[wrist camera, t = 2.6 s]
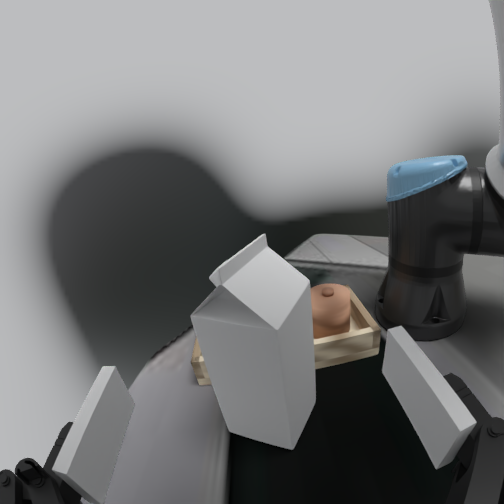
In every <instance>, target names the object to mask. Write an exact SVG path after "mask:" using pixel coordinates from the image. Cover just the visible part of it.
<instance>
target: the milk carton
mask: <svg viewBox="0 0 504 504" xmlns="http://www.w3.org/2000/svg"><path fill="white" fill-rule="evenodd" d="M209 279H210V280H211V281H212V282H213V283H214V284H215V286H216V287H217V288H216V289H215V290H214V291H213V292H212V293H211V294H210V295H209V296H208V297H207V298H206V299H205V300H204V301H203V302H202V304H201V305H200V306H199V307H198V308H197V309H196V310H195V311H194V312H193V313H192V314H191V320H192V324H193V327H194V330H195V334H196V337H197V340H198V343H199V347H200V350H201V353H202V356H203V359H204V362H205V365H206V368H207V371H208V374H209V377H210V380H211V383H212V386H213V389H214V392H215V395H216V397H217V400H218V403H219V406H220V409H221V411H222V414H223V417H224V419H225V422H226V425H227V427H228V430H229V432H232V433H235V434H238V435H241V436H244V437H247V438H250V439H254V440H257V441H260V442H264V443H267V444H271V445H275V446H279V447H282V448H286V449H291V450H293V449H294V447H295V445H296V443H297V441H298V439H299V437H300V435H301V433H302V431H303V429H304V427H305V424H306V422H307V420H308V418H309V416H310V414H311V411H312V409H313V407H314V405H315V402H316V384H315V357H314V337H313V320H312V305H311V291H310V280H309V279H307V278H306V277H305V276H304V275H302V274H301V273H300V272H299V271H297V270H296V269H295V268H294V267H293V266H291V265H290V264H289V263H288V262H286V261H285V260H284V259H283V258H281V257H280V256H279V255H278V254H276V253H275V252H274V251H273V250H271V249H270V248H269V247H268V246H267V241H266V234H262V235H261V236H260V237H258V238H257V239H256V240H254V241H253V242H252V243H250V244H249V245H248V246H246V247H245V248H244V249H242V250H241V251H239V252H238V253H237V254H235V255H234V256H233V257H231V258H230V259H229V260H227V261H225V262H224V263H223V264H222V265H221V266H219V267H218V268H217V269H216V270H215V271H214V272H213V273H212V275H211V276H210V277H209Z"/></svg>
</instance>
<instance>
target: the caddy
mask: <svg viewBox="0 0 504 504" xmlns="http://www.w3.org/2000/svg"><path fill="white" fill-rule="evenodd" d="M310 291H311V305H312V320H313V337H314V357H315V369H319V368H324V367H328V366H333V365H337V364H342V363H346V362H350V361H354V360H358V359H362V358H366V357H370V356H373V355H377V354H378V352H379V343H380V333H381V329H380V328H379V326H378V325H377V323H376V322H375V321H374V319H373V318H372V317H371V315H370V314H369V312H368V311H367V310H366V308H365V307H364V306H363V304H362V303H361V302H360V300H359V299H358V298H357V296H356V295H355V294H354V292H353V291H352V290H351V289H350V287H349V286H348V285H343V286H342V285H339V284H322V285H318V286H315V287H312V288H311V289H310ZM191 364H192V367H193V369H194V372H195V375H196V377H197V380H198V383H199V385H200V386H201V385H212V383H211V380H210V377H209V374H208V371H207V368H206V365H205V362H204V359H203V356H202V353H201V350H200V347H199V343H198V340H197V337H196V340H195V345H194V350H193V355H192V360H191Z"/></svg>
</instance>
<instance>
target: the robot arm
mask: <svg viewBox="0 0 504 504" xmlns="http://www.w3.org/2000/svg"><path fill="white" fill-rule="evenodd" d="M489 2H490V7H491V12H492V17H493V22H494V28H495V35H496V42H497V50H498V59H499V71H500V96H501V97H500V101H501V103H500V105H501V106H500V134H499V144H498V145H496V146H494V147H493V148H492V149H491V150H490V152H489V153H488V155H487V159H486V165H485V168H483V167H482V168H481V167H467V162H466V159H465V157H464V156H460V155H453V156H437V157H428V158H422V159H415V160H409V161H404V162H400V163H397V164H395V165H393V166H392V167H391V168H390V169H389V171H388V174H387V197H386V201H387V202H388V228H389V262H388V268H387V270H386V273H385V276H384V278H383V281H382V284H381V286H380V289H379V291H378V294H377V297H376V309H375V313H376V317H377V319H378V321H379V322H380V324H381V325H382V326H383V327H384V328H386V329H387V330H388V331H387V340H386V348H385V355H384V362H383V369H382V373H383V374H384V376H385V378H386V379H387V381H388V383H389V384H390V386H391V388H392V390H393V391H394V393H395V395H396V397H397V398H398V400H399V402H400V404H401V405H402V407H403V409H404V411H405V412H406V414H407V416H408V418H409V420H410V421H411V423H412V425H413V427H414V429H415V431H416V432H417V434H418V436H419V438H420V440H421V442H422V444H423V445H424V447H425V449H426V451H427V453H428V455H429V457H430V459H431V461H432V463H433V464H434V466H435V468H436V469H438V468H441V467H443V466H445V465H447V464H448V463H450V462H452V461H453V459H454V458H455V456H456V455H457V456H458V457H459V459H460V460H459V461H458V463H457V464H456V465H455V467H454V468H453V470H452V473H454V471H455V470H456V472H455V475H454V478H453V481H452V485H451V488H450V491H449V494H448V497H447V499H446V502H445V504H504V420H503V419H501V418H498V417H494V418H492V417H491V416H490V415H489V414H488V412H487V411H486V410H485V408H484V407H483V406H482V405H481V403H480V402H479V401H478V399H477V398H476V397H475V396H474V394H472V392H471V391H470V389H469V388H467V386H466V384H465V383H464V382H463V381H462V379H461V378H459V377H457V376H456V375H454V374H452V373H450V374H448V375H445V376H442V375H441V373H440V372H439V371H438V370H437V368H436V367H435V366H434V365H433V363H432V362H431V361H430V360H429V358H428V357H427V356H426V355H425V353H424V352H423V351H422V350H421V348H420V347H419V346H418V345H417V344H416V342H415V341H414V340H435V339H440V338H444V337H446V336H449V335H451V334H453V333H454V332H456V331H457V330H458V329H459V328H460V327H461V325H462V323H463V321H464V317H465V312H466V304H467V303H466V295H465V288H464V281H463V274H462V265H463V257H464V254H475V255H488V256H499V257H504V0H489ZM413 339H414V340H413ZM134 406H135V403H134V401H133V399H132V397H131V395H130V394H129V392H128V390H127V388H126V386H125V384H124V382H123V381H122V378H121V376H120V375H119V372H118V370H117V369H116V366H103V367H102V369H101V371H100V373H99V374H98V376H97V378H96V380H95V382H94V384H93V385H92V387H91V389H90V391H89V393H88V395H87V397H86V399H85V401H84V403H83V405H82V407H81V409H80V411H79V413H78V415H77V417H76V419H75V421H74V423H73V422H68V423H67V424H66V425H65V426H64V427H63V428H62V430H61V432H60V434H59V436H58V439H57V440H56V442H55V446H53V448H52V450H51V452H50V454H49V457H48V459H47V461H46V463H45V465H44V467H43V468H42V467H41V466H40V465H39V464H38V463H37V462H36V461H35V460H33V459H31V458H25V459H23V460H21V461H20V462H19V463H18V464H17V465H16V468H15V474H16V475H17V476H16V475H15V474H14V473H13V472H12V471H10V470H6V469H5V470H2V471H1V472H0V504H82V502H81V501H80V500H81V497H83V498H84V499H85V500H87V501H88V502H90V503H94V504H104V502H105V499H106V495H107V491H108V488H109V484H110V481H111V478H112V474H113V471H114V468H115V464H116V461H117V458H118V455H119V451H120V448H121V445H122V442H123V439H124V436H125V433H126V430H127V427H128V424H129V421H130V418H131V415H132V412H133V409H134Z"/></svg>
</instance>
